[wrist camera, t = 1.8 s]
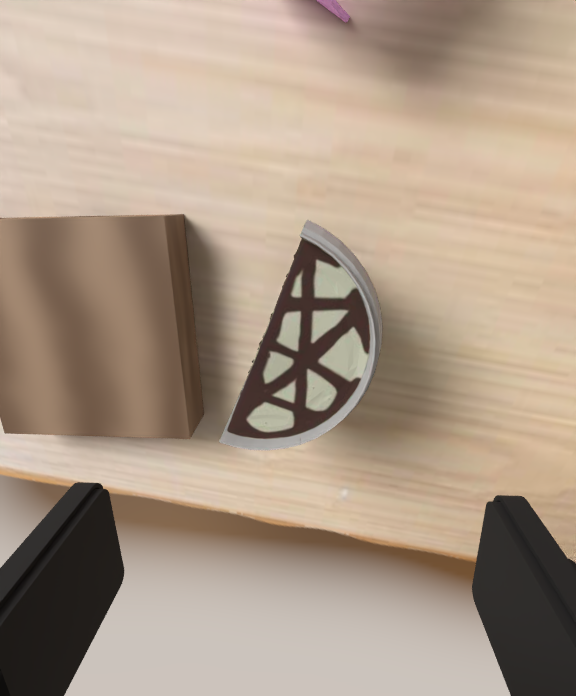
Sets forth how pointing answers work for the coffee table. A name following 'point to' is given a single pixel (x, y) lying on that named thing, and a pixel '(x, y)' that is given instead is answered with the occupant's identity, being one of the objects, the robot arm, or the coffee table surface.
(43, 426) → the walnut block
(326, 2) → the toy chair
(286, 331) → the food container
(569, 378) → the coffee table surface
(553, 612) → the robot arm
